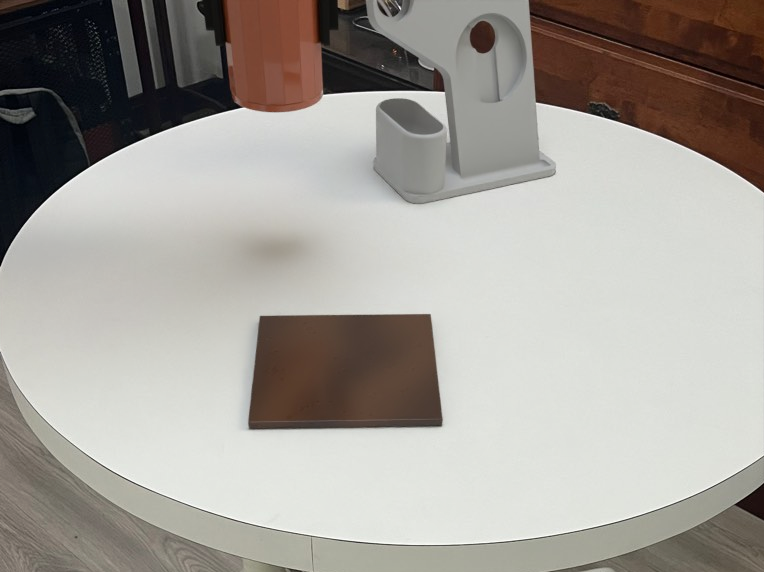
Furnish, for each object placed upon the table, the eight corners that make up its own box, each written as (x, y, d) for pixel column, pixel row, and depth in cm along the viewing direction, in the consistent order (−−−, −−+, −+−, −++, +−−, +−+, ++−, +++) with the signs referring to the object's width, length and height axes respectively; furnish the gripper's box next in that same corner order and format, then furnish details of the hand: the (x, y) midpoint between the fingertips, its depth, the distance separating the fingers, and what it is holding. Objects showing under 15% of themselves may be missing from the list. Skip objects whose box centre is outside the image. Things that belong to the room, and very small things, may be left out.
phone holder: (408, 206, 96) (411, 3, 83) (364, 164, 102) (362, -30, 90) (560, 173, 102) (585, -21, 89) (510, 135, 108) (527, -51, 95)
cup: (228, 113, 78) (215, -13, 72) (234, 77, 83) (222, -44, 77) (323, 112, 78) (318, -13, 72) (323, 77, 84) (318, -43, 77)
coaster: (248, 428, 72) (247, 422, 71) (260, 321, 81) (259, 315, 81) (442, 426, 72) (442, 419, 72) (430, 319, 82) (430, 313, 82)
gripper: (383, -252, 68) (382, 23, 81) (127, -256, 67) (166, 23, 80) (388, -235, 63) (387, 57, 76) (110, -239, 62) (155, 57, 75)
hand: (273, 38), depth 78 cm, fingers closed on cup, 7 cm apart
